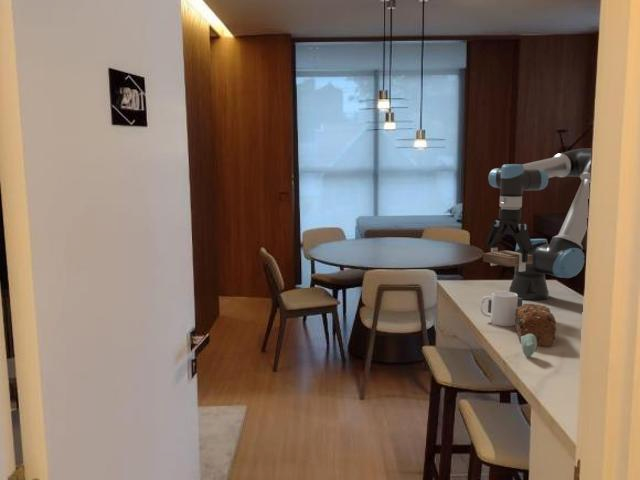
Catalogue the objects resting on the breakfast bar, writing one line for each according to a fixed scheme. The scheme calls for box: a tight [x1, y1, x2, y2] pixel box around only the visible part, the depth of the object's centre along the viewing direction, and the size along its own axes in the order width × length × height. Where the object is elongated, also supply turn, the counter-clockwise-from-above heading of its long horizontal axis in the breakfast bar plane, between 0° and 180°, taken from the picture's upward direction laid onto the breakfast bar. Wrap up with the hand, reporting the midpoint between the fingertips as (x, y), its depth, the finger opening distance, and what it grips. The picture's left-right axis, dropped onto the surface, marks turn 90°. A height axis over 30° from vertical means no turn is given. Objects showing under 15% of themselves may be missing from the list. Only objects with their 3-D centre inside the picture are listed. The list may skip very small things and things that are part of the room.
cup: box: [479, 290, 518, 327], centre depth 205 cm, size 8×12×10 cm
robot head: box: [520, 334, 538, 358], centre depth 171 cm, size 8×4×7 cm, turn 177°
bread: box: [515, 303, 557, 348], centre depth 188 cm, size 19×11×10 cm, turn 166°
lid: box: [482, 250, 533, 268], centre depth 216 cm, size 12×12×3 cm
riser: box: [487, 297, 524, 314], centre depth 219 cm, size 11×6×5 cm, turn 123°
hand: (507, 268), depth 217 cm, fingers closed on lid, 12 cm apart
